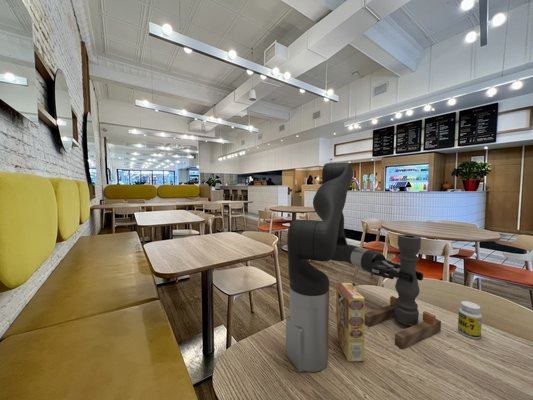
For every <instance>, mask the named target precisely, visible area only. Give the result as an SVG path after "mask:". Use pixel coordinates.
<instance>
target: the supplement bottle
mask: <svg viewBox="0 0 533 400" xmlns="http://www.w3.org/2000/svg"><path fill="white" fill-rule="evenodd" d="M457 316H458V320H457V321H458V322H457V330H458V332H459V333H460V334H461V335H462V336H465V337H467V338H470V339H473V340H474V339H475V340H479V339H481V337H482V321H483V315H482V313H481V306H480V305H479V304H478V303H477V304H476V303H473V302H471V301H468V300H467V301H465V300H463V301H461V302H460V308H458V315H457Z"/></svg>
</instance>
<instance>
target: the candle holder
mask: <svg viewBox="0 0 533 400" xmlns="http://www.w3.org/2000/svg"><path fill="white" fill-rule="evenodd" d="M397 247H398V250H399V252H400V253H399V254H398V256H397V257H398V259H399V261H401V264H400V271H402V272H405V273H409V274H411V275H414V283H410V282H407V281H405V280H403V279H396V281H395V285H394V289H395V291H396V293H397V295H398V297H396V298H397V299H396V301H395V302H396V304H395V305H394V317H395V318H394V319H395V320H396V321H398V322H400V323H401V324H404V325H407V326H414V325H416V324H418V323H419V316H420V315H419V313H420V311H419V309H418V307H419V305H418V303H417V301H416V298H417V297H418V296H419V294H420V291H421V290H420V286H419V285H420V284H419V280H417V276H416V271H417V262H419V261H420V257H418V256H417V255H418V253H419V252H420V250H421V247H422V237H421V236H419V235H413V234H398V235H397Z"/></svg>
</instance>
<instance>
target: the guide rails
mask: <svg viewBox="0 0 533 400" xmlns="http://www.w3.org/2000/svg"><path fill="white" fill-rule="evenodd" d="M397 298H398V297H396V296H394V295H391V296H389V305H386V306H382V307H380V308H376V309H373V310H370V311H367V312H365V326H366V327H368V328H370V327H373V326H375V325H378V324H380V323H384V322H386V321H389V320H392V319H395V317H394V305H395V304H396V302H395V301H396V299H397ZM441 326H442V320H440V319H438V318H437V317H436V315H434V314H432V313H431V312H428V311H423V312H422V321H421V322H418V324H416V325H410V326H409V327H407V328H404V329H401V330H400V331H397V332H395V333H394V345H395V346H397V347H398V348H399V349H401V350H405V349H407V348H408V347H410V346H412V345H415V344H417V343H419V342H421V341H423V340H425V339H427V338H429V337H432V336H433V335H435V334H438V333H440V332H441V331H442V327H441Z"/></svg>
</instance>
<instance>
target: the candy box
mask: <svg viewBox="0 0 533 400" xmlns="http://www.w3.org/2000/svg"><path fill="white" fill-rule="evenodd" d="M335 289H336V291H335V294H336V297H335V298H336V299H335V301H336V302H335V303H336V304H335V306H336V308H335V310H336V312H335V313H336V314H335V315H336V318H335V321H336V322H335V323H336V337H335V338H336V340H337V341H338V343H339V345H340V348H341V350H342V352H343V353H344V356H345V357H346V360H347V361H348V362H364V361H365V332H366V331H365V330H366V329H365V326H366V325H365V313H366V311H365V306H366V305H365V304H366V303H365V302H366V298H365V297H364V296H363V295H362V294H361V293H360V291H358V290H357V289H356V287H355V286H354V285H353V284H352V283H351V282H337V283H336V288H335Z"/></svg>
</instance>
